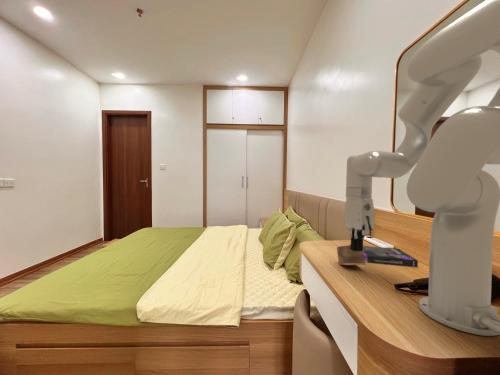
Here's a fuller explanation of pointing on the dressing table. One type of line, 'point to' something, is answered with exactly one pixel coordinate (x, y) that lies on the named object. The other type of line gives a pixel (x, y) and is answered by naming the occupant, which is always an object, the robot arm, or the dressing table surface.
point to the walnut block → (350, 256)
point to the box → (388, 256)
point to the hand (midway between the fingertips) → (356, 250)
